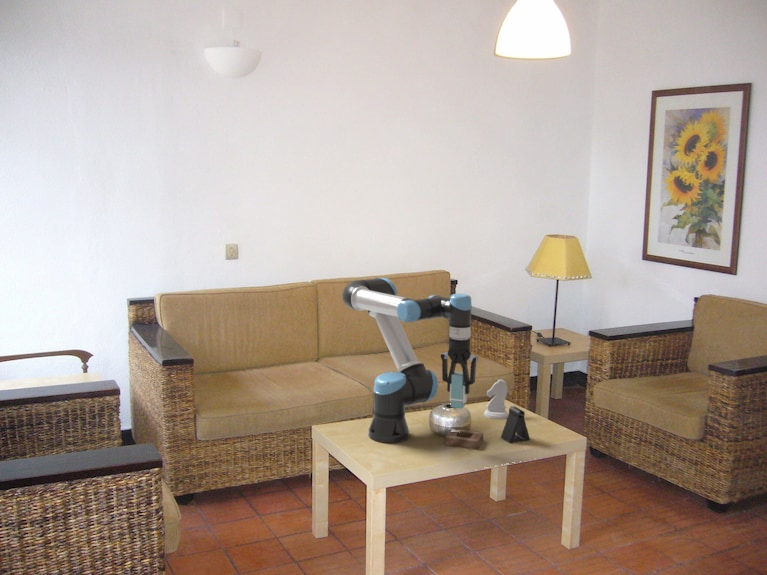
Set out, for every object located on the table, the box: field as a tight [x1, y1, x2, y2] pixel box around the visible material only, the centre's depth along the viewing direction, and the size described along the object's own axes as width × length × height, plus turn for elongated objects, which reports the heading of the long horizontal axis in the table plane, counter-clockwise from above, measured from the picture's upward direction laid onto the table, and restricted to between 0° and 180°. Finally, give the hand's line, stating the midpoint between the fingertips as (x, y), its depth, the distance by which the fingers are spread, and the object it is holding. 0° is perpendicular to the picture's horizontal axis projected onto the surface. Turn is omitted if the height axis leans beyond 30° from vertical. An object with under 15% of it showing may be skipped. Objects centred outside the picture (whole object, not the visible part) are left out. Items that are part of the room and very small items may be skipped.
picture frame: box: [500, 405, 531, 444], centre depth 293 cm, size 9×6×12 cm, turn 114°
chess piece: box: [483, 379, 509, 420], centre depth 319 cm, size 10×10×15 cm
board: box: [444, 429, 484, 450], centre depth 288 cm, size 12×10×3 cm
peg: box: [450, 371, 466, 410], centre depth 281 cm, size 4×4×12 cm
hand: (458, 401), depth 282 cm, fingers closed on peg, 4 cm apart
